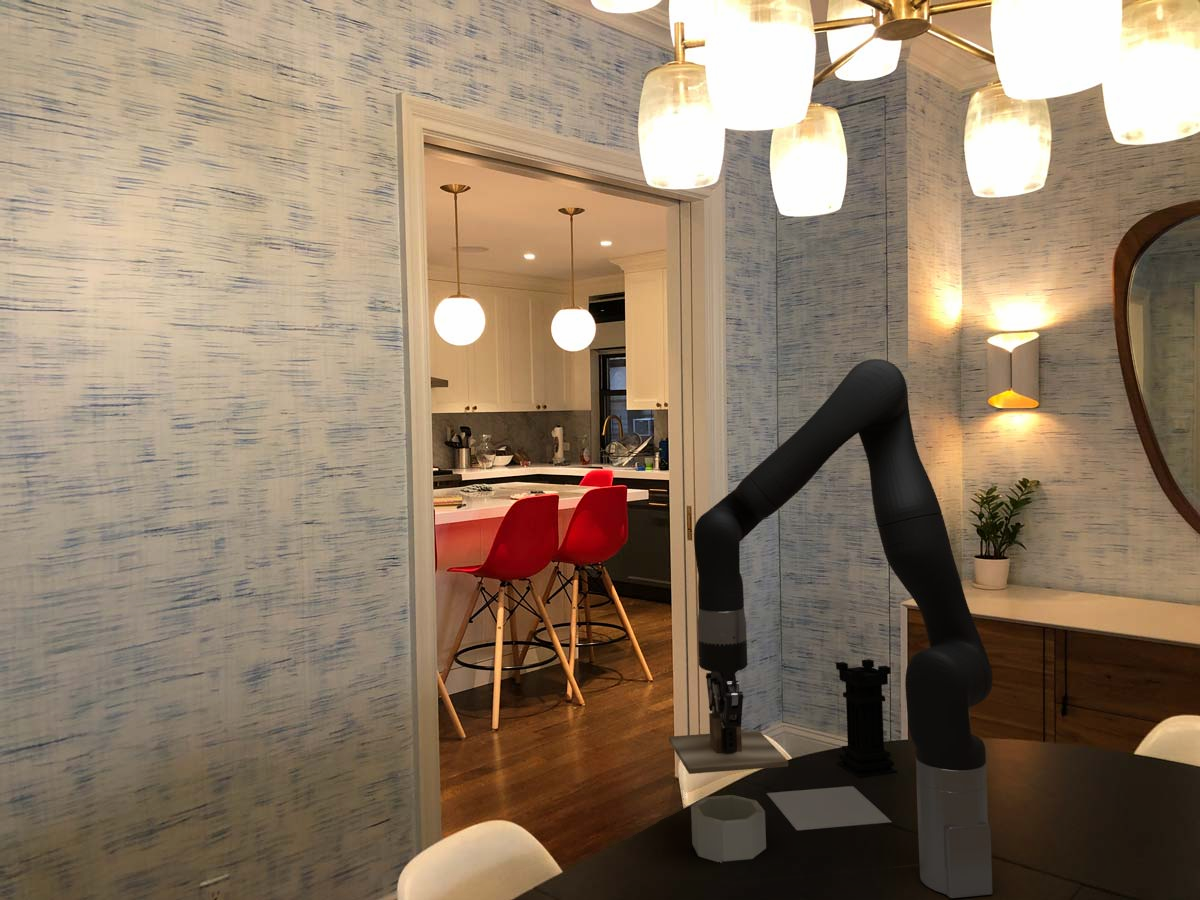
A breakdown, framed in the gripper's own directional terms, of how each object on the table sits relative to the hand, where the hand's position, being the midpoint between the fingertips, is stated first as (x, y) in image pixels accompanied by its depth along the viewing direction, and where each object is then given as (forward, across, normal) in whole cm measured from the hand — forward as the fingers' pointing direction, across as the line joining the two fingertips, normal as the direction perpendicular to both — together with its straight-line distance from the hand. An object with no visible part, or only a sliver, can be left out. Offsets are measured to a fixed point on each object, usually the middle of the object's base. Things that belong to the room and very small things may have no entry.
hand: (725, 746), depth 141 cm
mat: (+16, +11, -20) cm, 28 cm away
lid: (+1, 0, 0) cm, 1 cm away
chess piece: (+16, +27, -34) cm, 46 cm away
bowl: (+16, 0, 0) cm, 16 cm away
